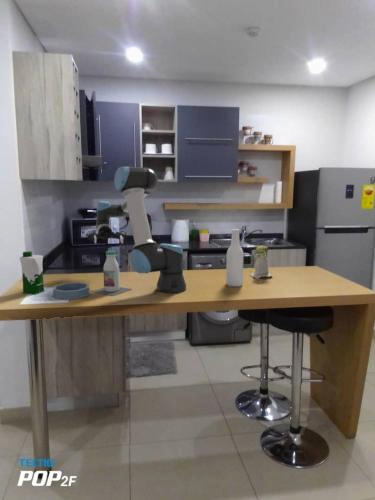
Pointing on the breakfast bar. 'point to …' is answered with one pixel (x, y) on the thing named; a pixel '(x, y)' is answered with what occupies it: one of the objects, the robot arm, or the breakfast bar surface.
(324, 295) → the breakfast bar surface
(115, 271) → the milk bottle
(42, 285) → the milk carton
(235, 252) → the alcohol
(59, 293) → the bowl
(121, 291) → the mat
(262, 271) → the figurine
